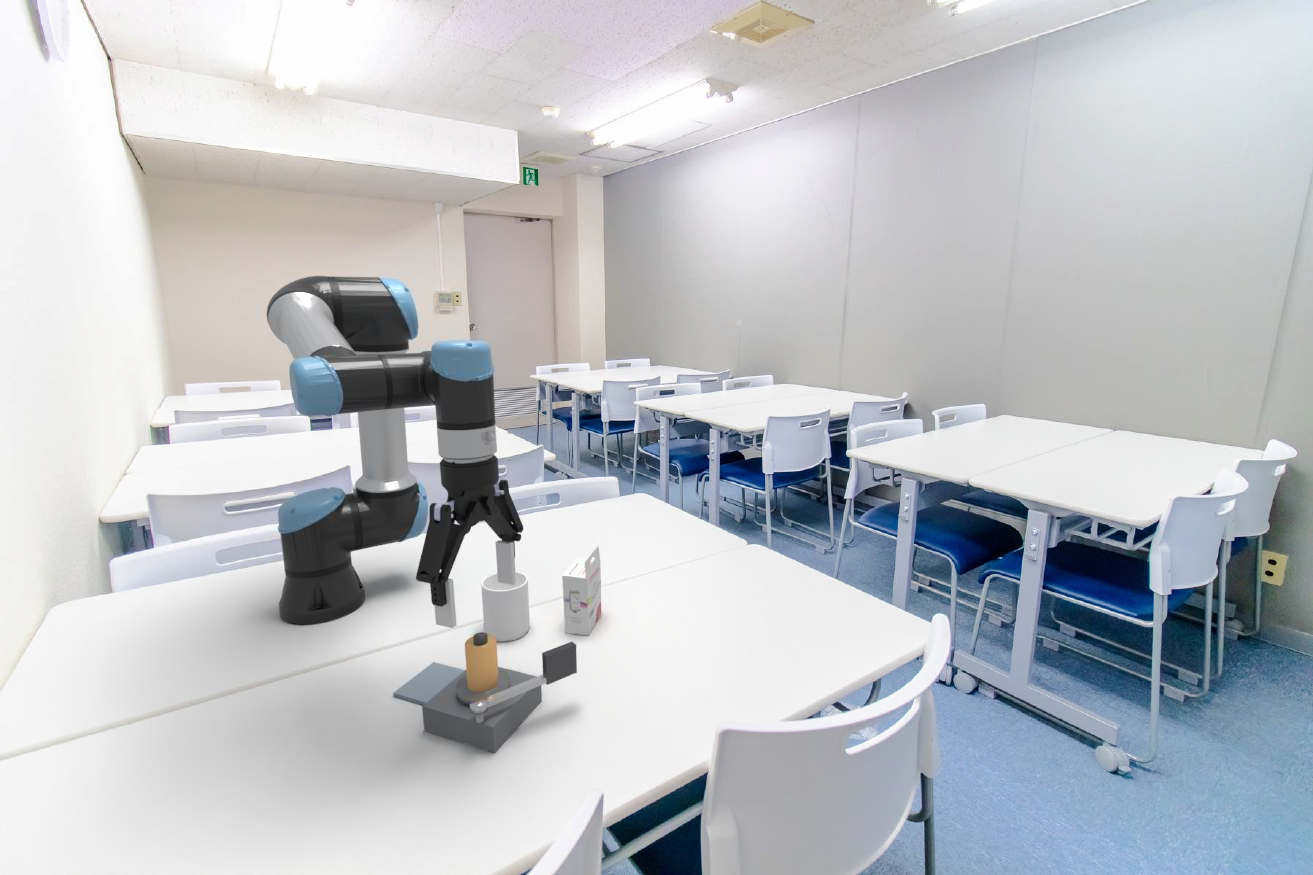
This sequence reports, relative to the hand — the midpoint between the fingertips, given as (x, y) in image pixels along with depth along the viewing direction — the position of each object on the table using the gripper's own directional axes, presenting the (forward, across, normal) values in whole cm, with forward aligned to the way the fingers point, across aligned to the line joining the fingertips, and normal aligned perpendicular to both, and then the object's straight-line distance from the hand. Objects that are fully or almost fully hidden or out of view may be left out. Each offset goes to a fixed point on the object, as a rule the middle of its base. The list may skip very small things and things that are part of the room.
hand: (478, 602), depth 86 cm
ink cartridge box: (+18, +29, -1) cm, 35 cm away
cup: (+18, +23, +12) cm, 32 cm away
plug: (+18, 0, 0) cm, 18 cm away
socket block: (+18, 0, 0) cm, 18 cm away
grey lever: (+13, +1, -7) cm, 15 cm away
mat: (+18, +3, +12) cm, 22 cm away
